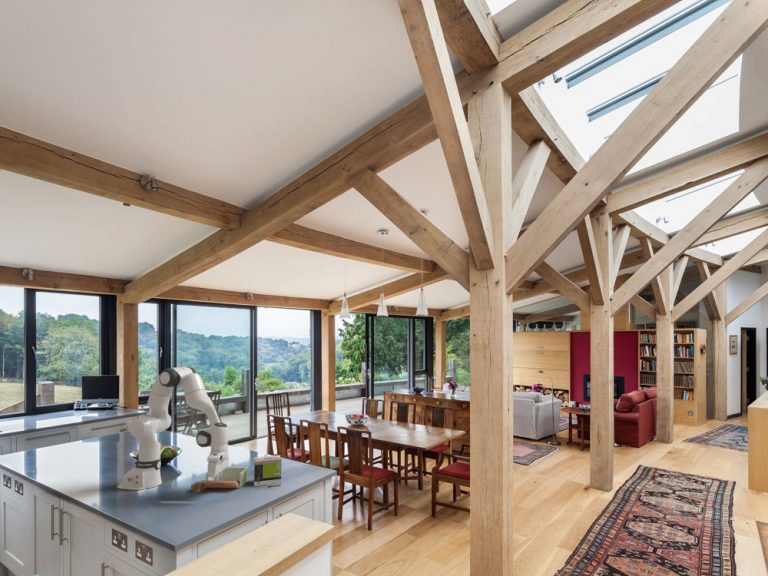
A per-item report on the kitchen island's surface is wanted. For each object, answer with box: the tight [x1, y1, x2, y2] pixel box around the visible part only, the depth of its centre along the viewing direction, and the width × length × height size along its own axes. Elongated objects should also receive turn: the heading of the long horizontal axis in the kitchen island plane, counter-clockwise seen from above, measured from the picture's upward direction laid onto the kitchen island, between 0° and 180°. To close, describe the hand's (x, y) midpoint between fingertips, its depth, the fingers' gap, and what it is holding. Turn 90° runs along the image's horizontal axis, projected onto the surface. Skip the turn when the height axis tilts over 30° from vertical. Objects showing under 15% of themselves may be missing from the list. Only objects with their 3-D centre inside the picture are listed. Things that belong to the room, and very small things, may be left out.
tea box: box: [253, 454, 282, 487], centre depth 253 cm, size 15×10×15 cm, turn 108°
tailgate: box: [201, 479, 240, 489], centre depth 240 cm, size 19×1×8 cm
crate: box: [205, 466, 250, 488], centre depth 250 cm, size 20×12×8 cm, turn 89°
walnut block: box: [190, 481, 205, 493], centre depth 239 cm, size 5×5×5 cm
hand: (218, 480), depth 237 cm, fingers closed
